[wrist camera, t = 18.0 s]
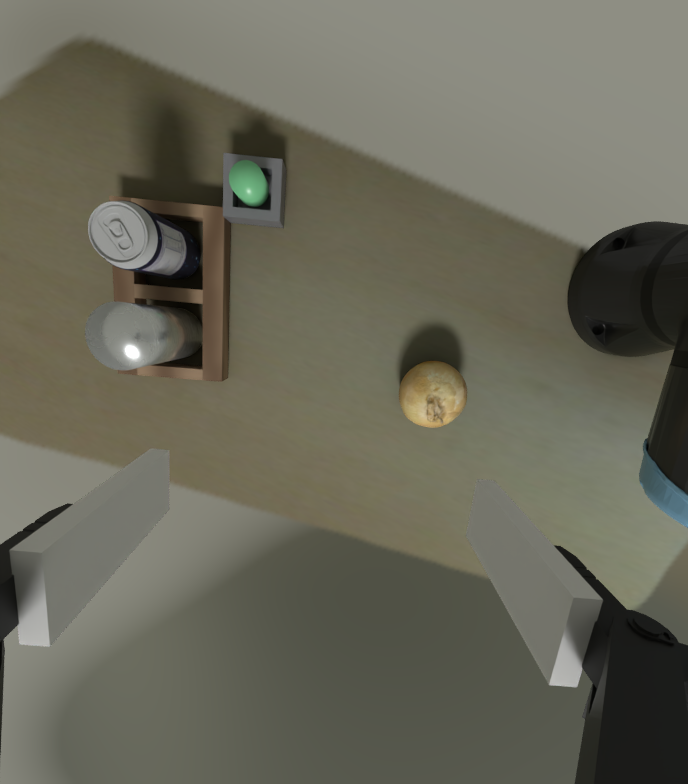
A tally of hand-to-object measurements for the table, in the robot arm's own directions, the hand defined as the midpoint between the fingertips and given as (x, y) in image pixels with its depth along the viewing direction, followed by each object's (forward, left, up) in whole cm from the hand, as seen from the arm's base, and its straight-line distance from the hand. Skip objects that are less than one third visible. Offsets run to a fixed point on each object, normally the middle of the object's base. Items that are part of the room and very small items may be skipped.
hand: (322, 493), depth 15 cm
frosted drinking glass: (+19, -3, -31) cm, 36 cm away
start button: (+10, -19, -28) cm, 36 cm away
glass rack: (+19, -8, -31) cm, 37 cm away
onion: (-12, +1, -31) cm, 33 cm away
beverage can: (+19, -12, -31) cm, 38 cm away
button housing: (+10, -19, -31) cm, 38 cm away
